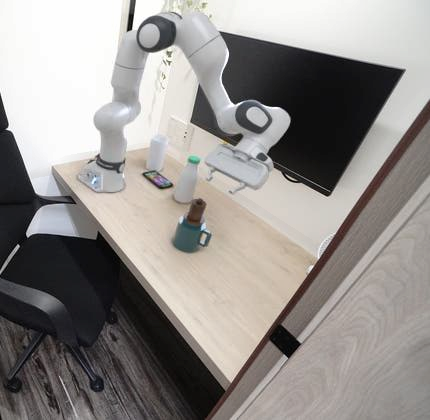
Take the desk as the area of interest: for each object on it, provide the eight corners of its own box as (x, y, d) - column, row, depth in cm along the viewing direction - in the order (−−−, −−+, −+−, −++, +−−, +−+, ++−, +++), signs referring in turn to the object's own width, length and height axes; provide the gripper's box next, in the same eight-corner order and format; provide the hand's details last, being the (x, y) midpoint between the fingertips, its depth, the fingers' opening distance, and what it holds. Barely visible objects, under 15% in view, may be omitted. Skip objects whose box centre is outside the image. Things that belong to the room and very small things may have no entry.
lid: (179, 219, 111) (186, 198, 106) (188, 211, 115) (195, 190, 110) (198, 228, 107) (206, 207, 102) (207, 219, 111) (215, 198, 106)
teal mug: (167, 243, 118) (175, 219, 111) (179, 232, 123) (187, 208, 116) (198, 260, 111) (208, 235, 104) (209, 248, 116) (219, 223, 110)
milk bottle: (192, 204, 138) (206, 163, 126) (174, 202, 139) (185, 161, 128) (190, 195, 144) (203, 154, 133) (172, 193, 146) (183, 152, 134)
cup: (165, 170, 162) (172, 140, 153) (150, 172, 160) (157, 142, 151) (156, 163, 169) (163, 134, 159) (142, 164, 167) (148, 135, 157)
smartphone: (155, 169, 161) (174, 184, 149) (154, 171, 161) (174, 186, 150) (141, 172, 158) (160, 187, 147) (141, 174, 159) (160, 189, 147)
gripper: (218, 137, 111) (191, 168, 113) (276, 161, 97) (244, 197, 99) (222, 146, 116) (196, 176, 117) (278, 171, 101) (247, 205, 103)
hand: (218, 186), depth 108 cm, fingers open, 8 cm apart
